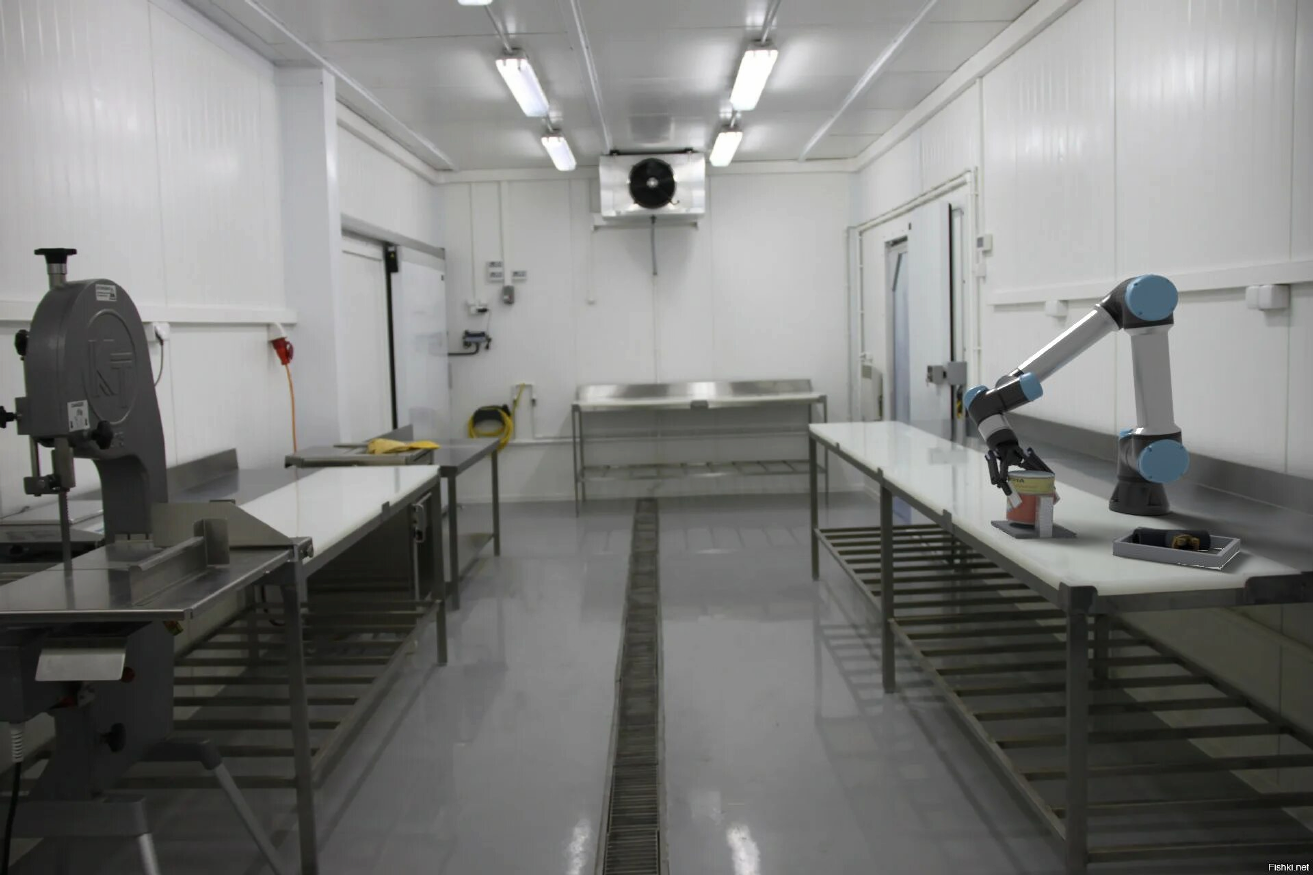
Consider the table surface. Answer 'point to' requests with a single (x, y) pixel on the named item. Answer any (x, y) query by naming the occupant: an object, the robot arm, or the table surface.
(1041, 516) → the block
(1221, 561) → the parts corral
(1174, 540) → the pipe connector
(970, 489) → the table surface
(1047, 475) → the canned food
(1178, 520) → the table surface
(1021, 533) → the rubber mat
